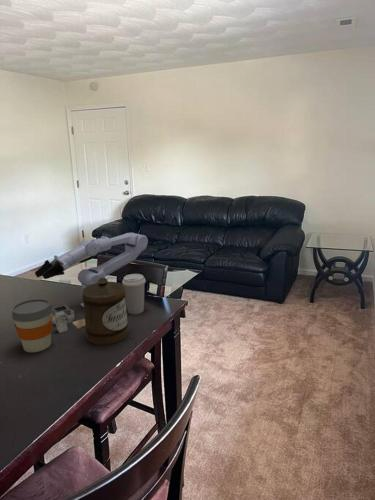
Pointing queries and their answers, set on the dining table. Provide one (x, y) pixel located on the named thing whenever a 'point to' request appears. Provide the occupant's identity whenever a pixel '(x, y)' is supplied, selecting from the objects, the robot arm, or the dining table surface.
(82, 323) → the coaster
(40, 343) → the reusable coffee cup
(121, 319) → the wooden container
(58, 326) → the grey block
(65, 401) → the dining table surface
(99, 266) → the robot arm
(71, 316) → the grey frying pan
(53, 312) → the open square box
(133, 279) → the coffee cup
